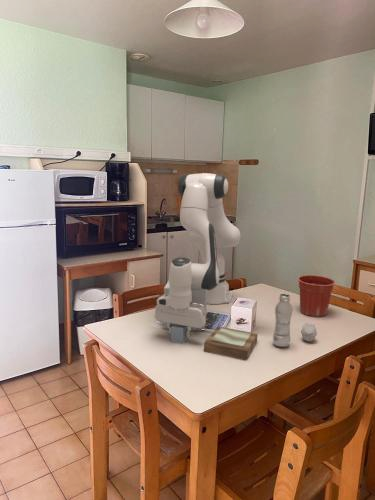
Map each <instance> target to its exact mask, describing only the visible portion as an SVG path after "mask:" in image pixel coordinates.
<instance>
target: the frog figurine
mask: <svg viewBox="0 0 375 500" xmlns="http://www.w3.org/2000/svg"><path fill="white" fill-rule="evenodd" d="M300 333H301V338H302V339H303V340H304V341H305V342H313V341H314V339H315V338H316V337H317V334H318V332H317V328H316V326H315V323H311V322H304V325H303V326H302V328H301V329H300Z"/></svg>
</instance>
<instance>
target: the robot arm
mask: <svg viewBox="0 0 375 500" xmlns="http://www.w3.org/2000/svg"><path fill="white" fill-rule="evenodd" d="M228 190H229V182H228V179H227V177H226V176H225V175H224V174H221V173H216V174H215V173H210V172H209V173H208V172H207V173H206V172H202V173H191V174H190V173H185V174H183V175H181V176H180V177H179V178H178V180H177V192H178V194H179V196H180V197H181V198H182V199H181V203H180V208H179V221H180V225H181V226H182V227H183V229H185V230H187V231H188V232H189V239H190V241H191V242H192V244H194V245H195V246H196V247H197V249H198V251H199V253H200V255H201V258H202V263H195V262H194V263H193V262H191V259H189V258H187V257H184V256H183V257H181V256H180V257H176V258H173V259H172V260H171V261H170V265H169V271H168V280H169V285H170V289H169V294H165V295H164V294H162V295H160V296H159V297H158V298H157V299H156V305H155V308H154V318H155V320H156V321H157V322H162V323H164V322H167V326H168V328H169V334H171V326H172V324H178V325H183V326H187V329H189V330H188V331H186V332H185V336H186V337H188V338H189V337H190V336H191V331H192V330H191V329H192V328H193V327H194V328H199V329H201V328H203V327H204V326H205V327H206V325H207V324H206V323H207V319H206V320H205V313H206V314H207V307H206V308H205V307H204V306H203V305H202V304H197V303H192V291H191V287H194V288H201V289H206V290H207V296H206V305H207V304H208V305H220V304H229V303H231V302H232V298H233V296H234V295H233V294H234V293H233V292H232V291H230V288H229V287H230V286H229V285H230V284H229V283H228V282H227V281H226V276H227V271H225V270H226V268H225V267H226V260H225V258H224V256H223V254H221V253H219V252H218V251H217V248H218V247H219V248H233V247H238V245H239V243H240V241H241V237H242V236H241V231H240V229H239V228H238V227H237V226H235V225H234V224H232V223H231V221H230V220H229V219H228V218H227V216H226V214H225V210H224V203H223V201H224V200H223V198H224V197H226V196H227V193H228Z"/></svg>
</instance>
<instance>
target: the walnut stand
mask: <svg viewBox="0 0 375 500" xmlns="http://www.w3.org/2000/svg"><path fill="white" fill-rule="evenodd" d="M258 334H259V333H256V332H250V331H245V330H241V329H236V328H235V329H234V328H229V327H224V326H217V327H215V329H214V330H213V331H212V333H211V334H209V336H208V337H207V338H206V339H205V340H204V342H203V352H207V353H210V354H216V355H219V356H225V357H229V358H235V359H239V360H243V361H247V360H248V358H249V357H250V355H251V354H252V351H253V350H254V348H255V346H256V344H257V343H258Z"/></svg>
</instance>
